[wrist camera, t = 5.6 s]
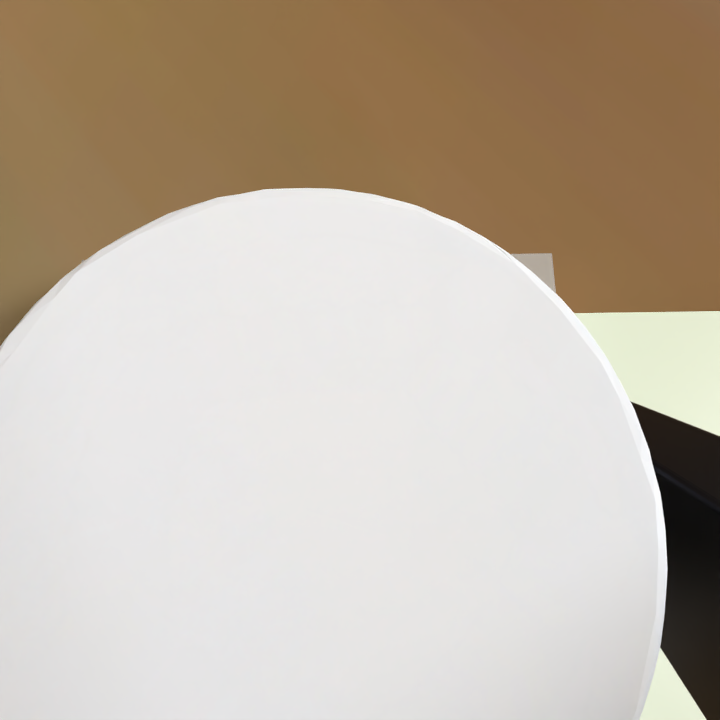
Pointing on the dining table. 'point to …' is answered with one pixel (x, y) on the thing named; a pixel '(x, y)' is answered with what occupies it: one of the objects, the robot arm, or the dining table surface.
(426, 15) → the dining table surface
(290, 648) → the pill bottle
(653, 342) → the mat
